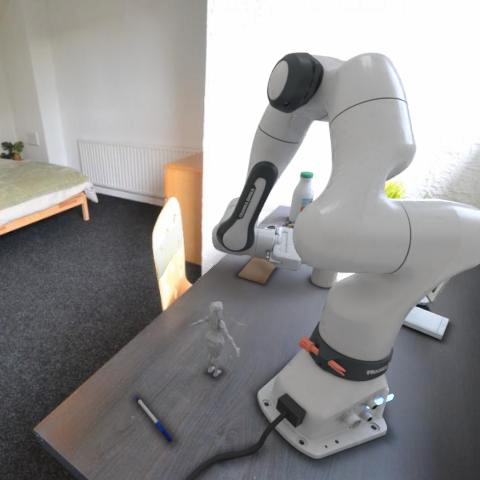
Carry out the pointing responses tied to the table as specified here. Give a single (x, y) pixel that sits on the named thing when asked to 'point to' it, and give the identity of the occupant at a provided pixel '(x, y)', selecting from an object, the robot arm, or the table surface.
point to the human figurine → (216, 335)
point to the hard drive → (426, 322)
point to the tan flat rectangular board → (257, 270)
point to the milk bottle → (301, 195)
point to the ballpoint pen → (154, 420)
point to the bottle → (323, 277)
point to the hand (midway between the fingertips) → (318, 251)
